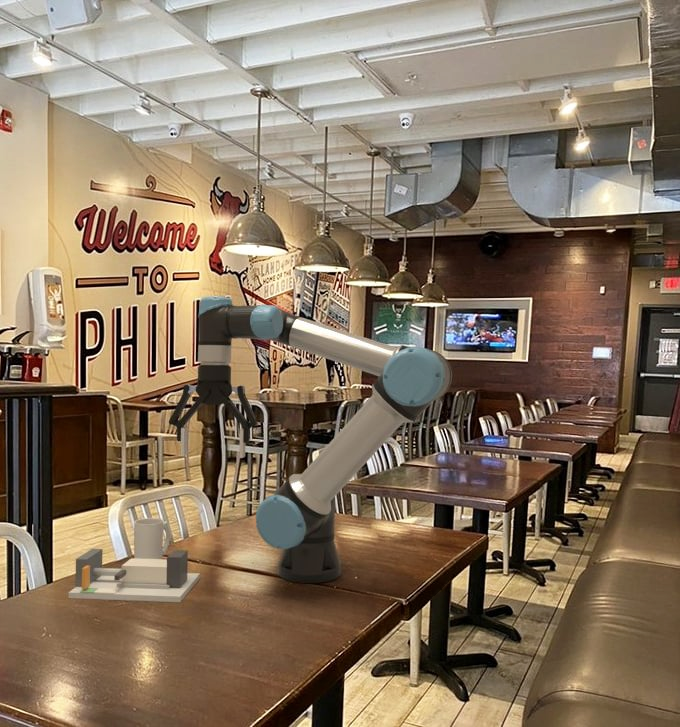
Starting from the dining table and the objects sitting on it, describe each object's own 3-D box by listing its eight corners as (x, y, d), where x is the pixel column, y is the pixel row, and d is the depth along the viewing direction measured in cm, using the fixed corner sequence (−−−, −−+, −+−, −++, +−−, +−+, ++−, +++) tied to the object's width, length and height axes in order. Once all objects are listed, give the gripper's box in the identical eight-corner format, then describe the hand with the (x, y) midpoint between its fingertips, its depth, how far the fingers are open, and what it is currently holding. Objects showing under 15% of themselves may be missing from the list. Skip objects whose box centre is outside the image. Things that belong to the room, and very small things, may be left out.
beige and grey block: (187, 578, 144) (187, 550, 144) (174, 593, 135) (174, 562, 135) (130, 576, 144) (131, 548, 144) (114, 591, 135) (114, 560, 135)
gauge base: (199, 578, 148) (200, 547, 148) (180, 602, 133) (180, 567, 133) (98, 575, 150) (98, 544, 150) (67, 598, 135) (68, 564, 135)
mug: (146, 577, 149) (147, 526, 149) (127, 572, 152) (128, 521, 152) (178, 566, 157) (179, 517, 157) (159, 561, 161) (160, 514, 161)
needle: (89, 586, 137) (90, 565, 137) (85, 589, 135) (85, 568, 135) (86, 586, 137) (86, 565, 137) (81, 589, 135) (82, 568, 135)
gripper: (270, 365, 150) (269, 455, 150) (166, 363, 151) (165, 452, 151) (265, 365, 143) (263, 460, 142) (155, 363, 144) (154, 457, 144)
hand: (213, 456), depth 147 cm, fingers open, 13 cm apart
